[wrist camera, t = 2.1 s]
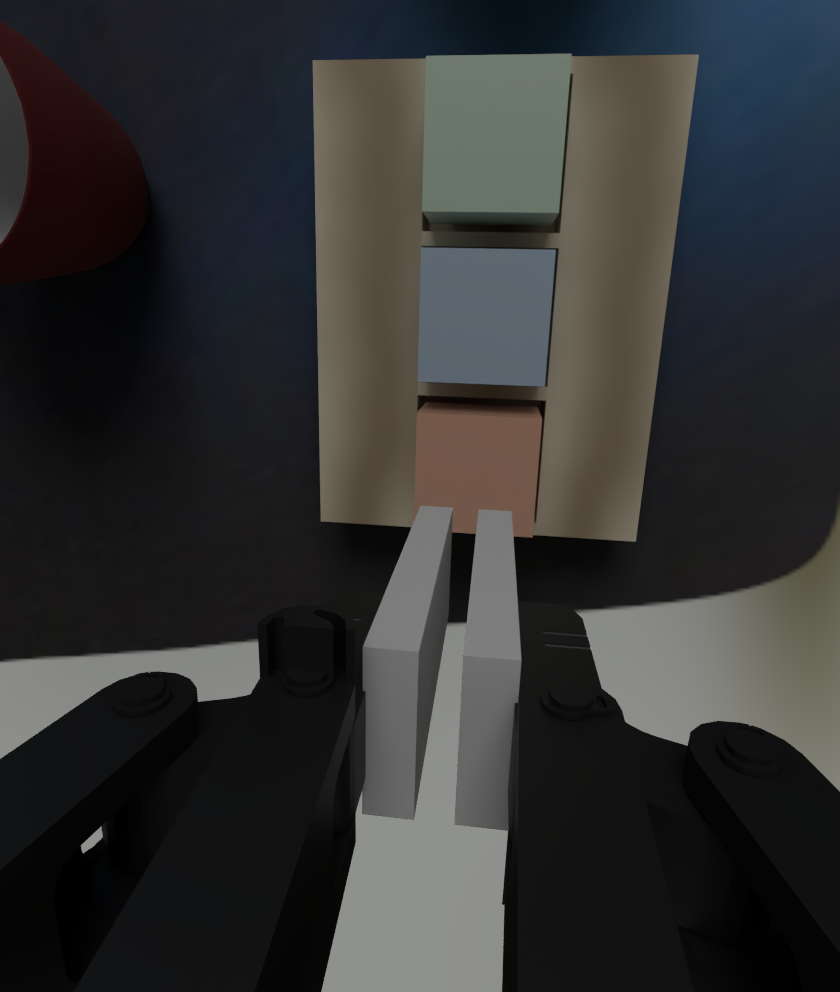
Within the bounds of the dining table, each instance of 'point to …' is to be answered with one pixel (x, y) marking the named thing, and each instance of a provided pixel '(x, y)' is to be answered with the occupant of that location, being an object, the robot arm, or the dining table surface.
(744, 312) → the dining table surface
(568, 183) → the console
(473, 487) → the tile terracotta
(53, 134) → the mug
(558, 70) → the tile sage
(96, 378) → the dining table surface
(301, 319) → the dining table surface
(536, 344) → the tile slate
